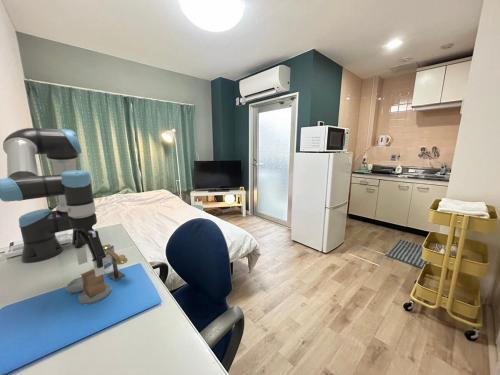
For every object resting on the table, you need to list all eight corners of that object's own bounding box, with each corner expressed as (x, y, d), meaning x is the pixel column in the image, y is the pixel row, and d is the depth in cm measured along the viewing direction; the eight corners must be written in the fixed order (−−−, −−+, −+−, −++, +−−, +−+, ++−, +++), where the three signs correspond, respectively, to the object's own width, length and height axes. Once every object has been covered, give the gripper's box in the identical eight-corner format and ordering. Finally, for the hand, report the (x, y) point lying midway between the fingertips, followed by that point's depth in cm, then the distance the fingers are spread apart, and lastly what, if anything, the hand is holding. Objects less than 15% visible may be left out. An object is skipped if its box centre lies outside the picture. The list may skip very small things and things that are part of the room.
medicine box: (102, 270, 95) (99, 253, 93) (93, 269, 96) (91, 252, 94) (116, 261, 102) (114, 245, 101) (108, 260, 103) (106, 244, 101)
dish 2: (74, 297, 78) (73, 294, 77) (103, 283, 86) (103, 280, 86) (86, 308, 73) (85, 305, 72) (116, 291, 81) (116, 288, 81)
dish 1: (62, 287, 83) (61, 284, 83) (91, 274, 92) (90, 271, 91) (73, 296, 78) (72, 293, 78) (102, 282, 86) (102, 279, 86)
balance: (102, 273, 93) (98, 247, 90) (111, 268, 96) (108, 243, 94) (122, 285, 84) (118, 258, 82) (131, 280, 88) (128, 253, 85)
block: (84, 293, 78) (81, 274, 77) (99, 285, 82) (96, 267, 81) (90, 298, 76) (87, 278, 74) (105, 290, 80) (102, 271, 78)
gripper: (55, 211, 76) (65, 263, 81) (86, 226, 63) (96, 286, 68) (79, 206, 82) (87, 254, 87) (112, 218, 70) (119, 274, 74)
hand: (91, 268), depth 77 cm, fingers open, 13 cm apart
